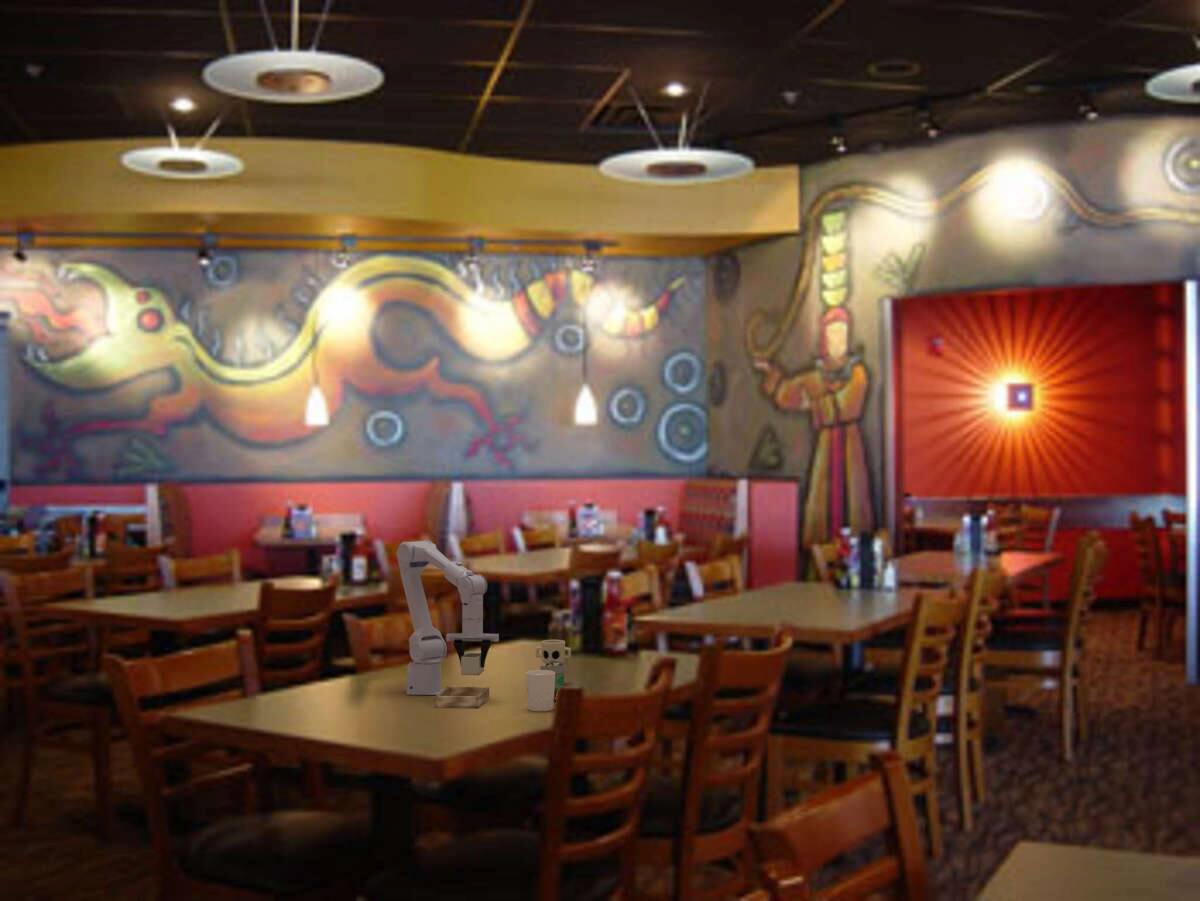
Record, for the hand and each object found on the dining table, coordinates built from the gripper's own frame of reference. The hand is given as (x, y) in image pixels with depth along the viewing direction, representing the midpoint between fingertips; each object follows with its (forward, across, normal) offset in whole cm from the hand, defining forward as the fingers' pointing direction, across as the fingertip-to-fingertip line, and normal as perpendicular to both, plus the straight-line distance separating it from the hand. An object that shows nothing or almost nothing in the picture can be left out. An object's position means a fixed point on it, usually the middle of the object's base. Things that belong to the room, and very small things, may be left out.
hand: (472, 667), depth 391 cm
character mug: (+10, +19, +29) cm, 36 cm away
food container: (+10, +23, +5) cm, 25 cm away
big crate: (+9, -2, -3) cm, 10 cm away
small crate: (+2, 0, 0) cm, 2 cm away
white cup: (+10, +21, -11) cm, 26 cm away
